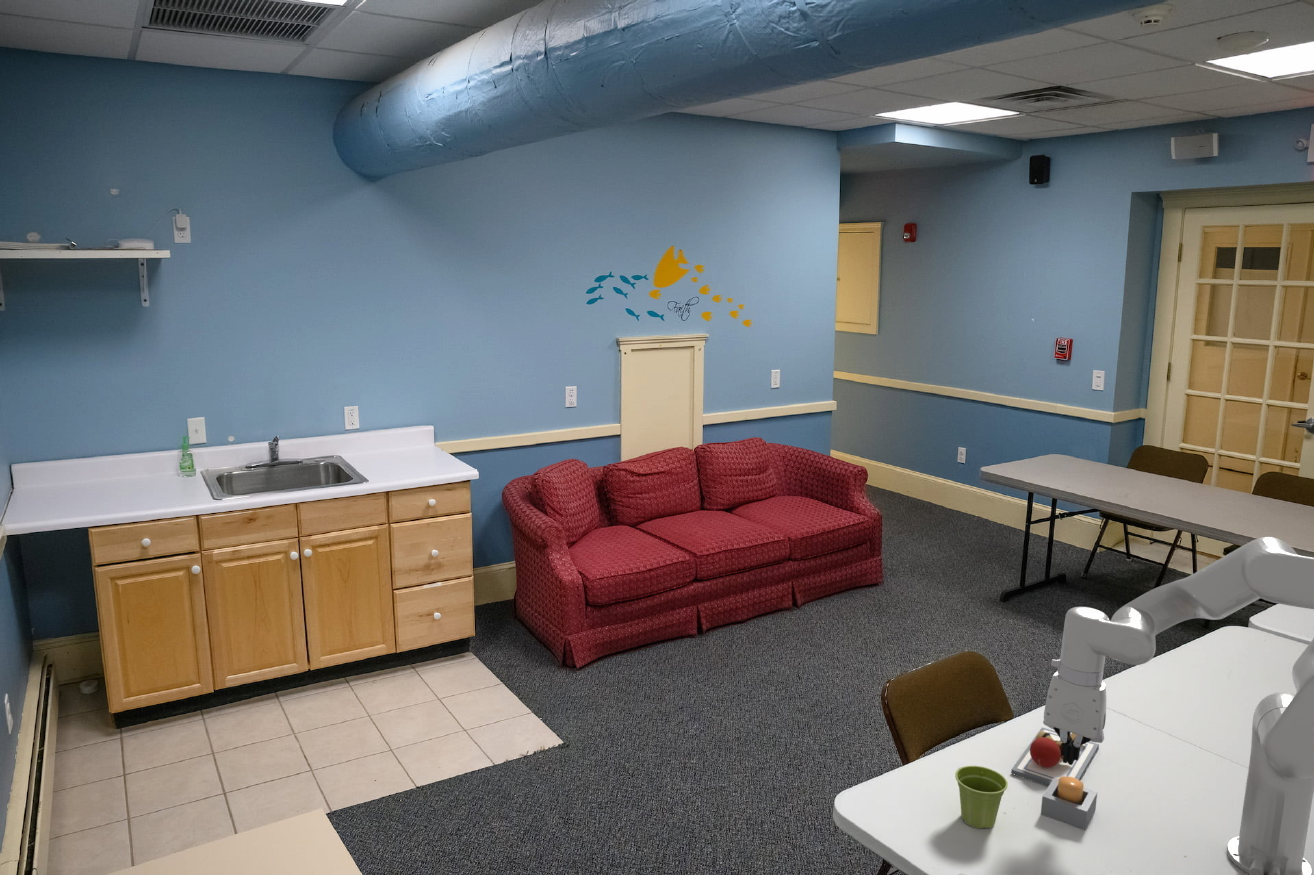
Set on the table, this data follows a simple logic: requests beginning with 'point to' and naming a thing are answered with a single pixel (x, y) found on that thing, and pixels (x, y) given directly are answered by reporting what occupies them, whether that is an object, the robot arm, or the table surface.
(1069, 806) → the button housing
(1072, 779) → the button
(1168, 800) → the table surface
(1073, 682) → the robot arm
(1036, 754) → the kendama
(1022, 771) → the picture frame
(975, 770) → the plant pot
